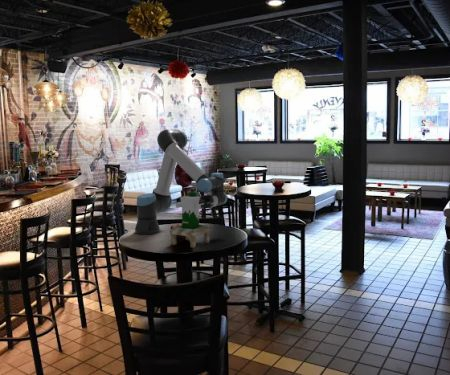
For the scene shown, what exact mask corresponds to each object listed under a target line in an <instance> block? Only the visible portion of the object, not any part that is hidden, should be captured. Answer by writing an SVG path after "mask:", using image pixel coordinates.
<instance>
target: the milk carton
mask: <svg viewBox="0 0 450 375" xmlns="http://www.w3.org/2000/svg"><path fill="white" fill-rule="evenodd" d="M179 199H180V201H181V203H182V207H181V217H182V218H181V225H182V228H185V229H195V228H199V224H200V215H199V214H200V209H199V210H196V205H197V204H199V199H201V196H198V195H197V192H196V191H192V192H191V191H190V192H188V195H183V196H180V198H179Z"/></svg>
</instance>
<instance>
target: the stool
mask: <svg viewBox="0 0 450 375" xmlns="http://www.w3.org/2000/svg"><path fill="white" fill-rule="evenodd" d="M171 228H172V229H169V235H170V241H171V243H170V244H171V245H172V246H175V245H177V236H185V241H189V242H190V244H189V246H190V248H193V249H194V248H196V246H197V244H196V239H197V237H198V236H201V235H204V236H203V237H204V238H203V242H204V243H208V244H209V243H210V232H211V227H209V225H208V224H201V223H199V228H195V229H185V228H182V224H178V225H175V226H173V227H171Z"/></svg>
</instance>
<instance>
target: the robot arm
mask: <svg viewBox="0 0 450 375" xmlns="http://www.w3.org/2000/svg"><path fill="white" fill-rule="evenodd" d="M156 139H157V140H156V141H157V145H158V147H159V148H160V150H161V151H162V152H163V153H164V154H163V157H162V161H161V167H160V170H159V173H158V178H157V182H156V187H155V188H153V189H152V192H148V193H141V194H139V195H138V196H137V197H136V213H137V214H136V215H137V216H136V217H137V221H136V224H135V228H134V233H135V234H137V235H154V234H159V233H160V232H161V230H160V229H161V228H160V225H159V223H158V222H159V221H158V219H157V218H158V216H157V214H158V213H162V212H165V211H167V210H169V209H170V208H171V206H172V204H173V199H172V196H171V195H172V193H171V191H170V189H171V185H172V183H173V182H172V181H173V179H174V178H173V177H174V173H175V170H176V166H177V165H179V167H180V168H181V169H182V170H183V171H184V172H185V173H186V174H187V176H189V177H190V178H191V179H192V180H193V181H194V182H195V183H196V184H197V186H196V187H197V188H198V190H199V191H200V192H201V193H205V192H206V193H207V192H211V193H210V194H205V195H202V196H200V199H199V204H197V205H196V210H199V211H200V210H201V209H213V207H217V206H221V205H224V204H226V203H227V202H228V195H227V194H226V193H225V188H224V187H225V181H224V180H225V179H224V173H223V172H212V173H211V175H210V176H209V175H208V174H206V173H205V172H204V171H203V169H201V168H200V166H199V165H198V164H196V162H195V161H194V160H193V159H191V157H190V156H189V155H188V154H187V153H186V152H185V151H184V150H183V149H184V148H185V147H186V146H187V144H188V137H187V135H186V133H185V132H184V131H182V130H180V129H164V130H162V131H160V132H159V133H158V135H157V138H156ZM175 206H176V209H179V208H182V203H181V200H180V201H178V202H176V203H175Z"/></svg>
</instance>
